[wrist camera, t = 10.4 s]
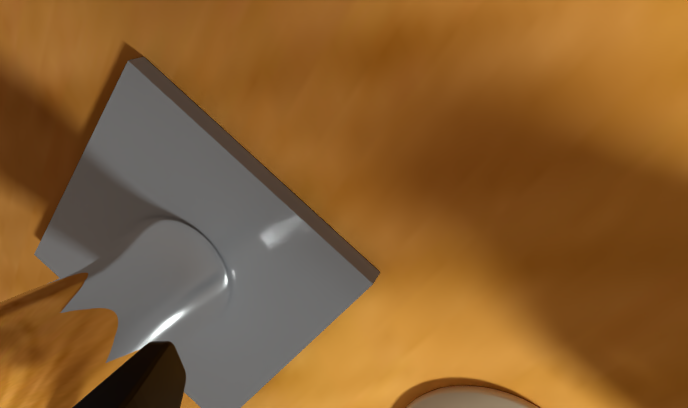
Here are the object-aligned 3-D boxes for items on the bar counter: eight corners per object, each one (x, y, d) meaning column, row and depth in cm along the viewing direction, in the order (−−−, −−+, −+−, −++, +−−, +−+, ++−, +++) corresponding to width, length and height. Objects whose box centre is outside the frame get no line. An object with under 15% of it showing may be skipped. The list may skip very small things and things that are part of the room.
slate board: (380, 272, 25) (373, 283, 24) (230, 413, 32) (221, 425, 31) (143, 56, 25) (127, 60, 24) (48, 246, 32) (34, 254, 31)
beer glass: (101, 208, 28) (-305, 427, 15) (218, 205, 25) (-159, 469, 12) (143, 328, 30) (-177, 605, 17) (254, 336, 27) (-30, 674, 15)
